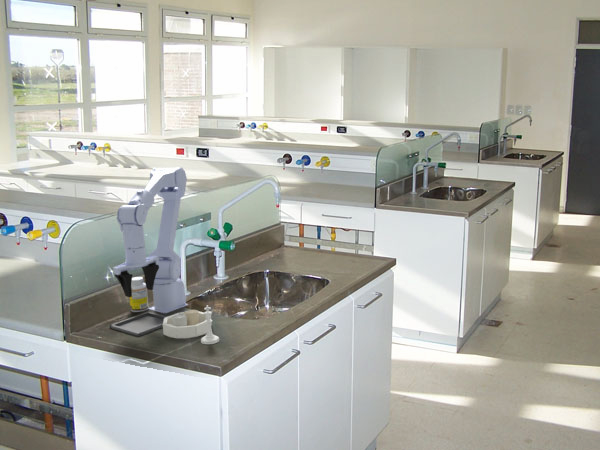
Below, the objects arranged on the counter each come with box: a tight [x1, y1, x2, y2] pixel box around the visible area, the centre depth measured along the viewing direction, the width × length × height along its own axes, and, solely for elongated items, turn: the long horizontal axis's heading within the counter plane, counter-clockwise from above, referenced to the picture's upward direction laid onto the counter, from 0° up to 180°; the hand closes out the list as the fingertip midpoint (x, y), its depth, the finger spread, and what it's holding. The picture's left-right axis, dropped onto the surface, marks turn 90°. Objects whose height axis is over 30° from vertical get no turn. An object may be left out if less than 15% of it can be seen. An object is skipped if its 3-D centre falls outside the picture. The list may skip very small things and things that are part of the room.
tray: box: [109, 311, 168, 337], centre depth 206 cm, size 14×13×1 cm
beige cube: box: [183, 309, 199, 326], centre depth 201 cm, size 4×4×4 cm
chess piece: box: [200, 304, 220, 345], centre depth 190 cm, size 5×5×10 cm
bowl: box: [162, 310, 212, 339], centre depth 199 cm, size 13×13×4 cm
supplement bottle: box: [128, 276, 150, 313], centre depth 219 cm, size 6×6×10 cm
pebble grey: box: [172, 314, 187, 327], centre depth 197 cm, size 4×4×4 cm
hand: (139, 292), depth 204 cm, fingers open, 7 cm apart
